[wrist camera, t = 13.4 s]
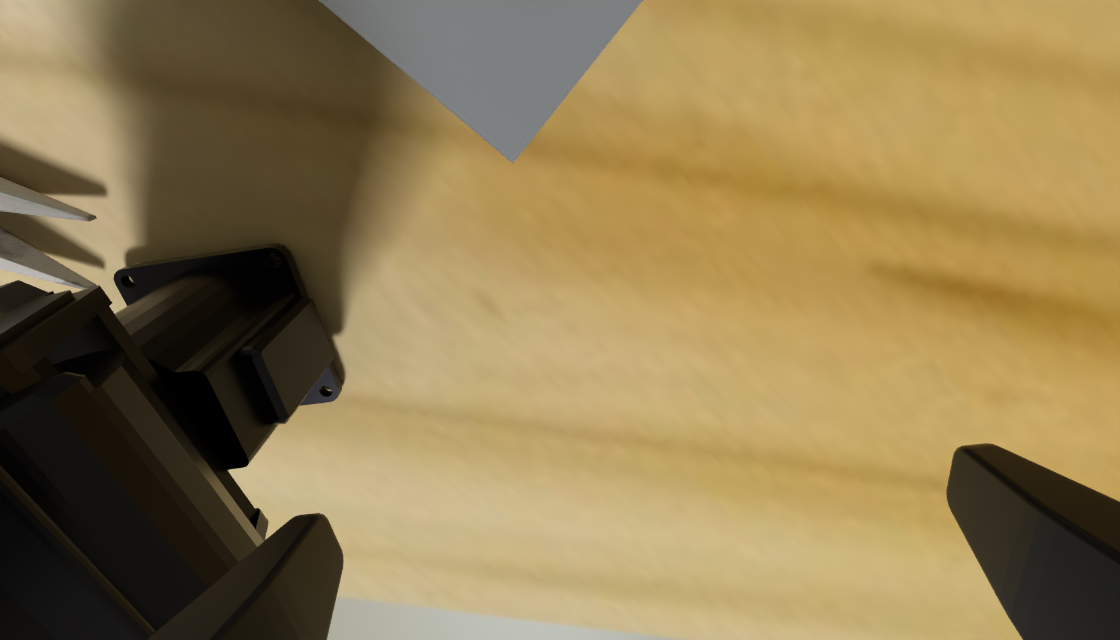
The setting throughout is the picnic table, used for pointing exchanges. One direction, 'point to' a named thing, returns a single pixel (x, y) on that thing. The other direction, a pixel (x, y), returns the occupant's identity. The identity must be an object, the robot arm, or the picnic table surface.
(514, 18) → the slotted grey base
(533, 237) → the picnic table surface
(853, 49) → the picnic table surface
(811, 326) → the picnic table surface
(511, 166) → the picnic table surface
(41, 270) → the pliers
